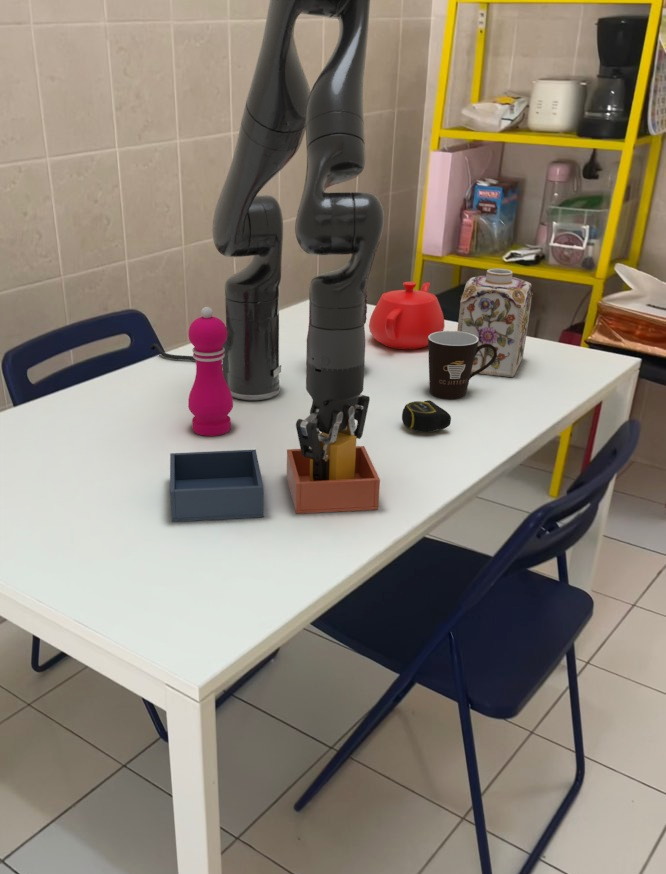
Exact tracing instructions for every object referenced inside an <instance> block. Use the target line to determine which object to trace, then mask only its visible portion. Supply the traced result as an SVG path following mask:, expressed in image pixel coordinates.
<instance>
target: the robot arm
mask: <svg viewBox="0 0 666 874" xmlns="http://www.w3.org/2000/svg"><path fill="white" fill-rule="evenodd" d="M267 7H268V8H267V14H266V19H265V24H264V29H263V35H262V41H261V45H260V49H259V53H258V57H257V60H256V64H255V68H254V72H253V76H252V79H251V82H250V86H249V90H248V93H247V96H246V100H245V103H244V107H243V108H244V109H243V112H242V116H241V120H240V125H239V130H238V136H237V140H236V145H235V147H234V152H233V156H232V159H231V162H230V166H229V169H228V172H227V175H226V176H225V177H226V178H225V180H224V183H223V186H222V188H221V191H220V194H219V195H218V200H217V202H216V205H215V209H214V213H213V218H212V230H211V231H212V232H211V233H212V239H213V244H214V246H215V248H216V250H217V252H218V253H219V254H221V255H222V256H223V257H228V258H242V257H252V259H251V260H250V262H249V263H248V264H247V265H246V266H245V267H243V268H242V269H241V270H239V271H237V272H236V273H234V274H232V275H230V276H229V277H228V278H227V279H226V280H225V283H224V302H225V303H224V304H225V305H224V306H225V326H226V329H227V339H226V341H225V343H224V344H223V346H222V347H224V349H225V350H224V354H225V357H224V358H223V359H222V370H223V375H224V378H225V381H226V383H227V385H228V387H229V389H230V392H231V395H232V398H234V399H238V400H242V401H243V400H244V401H262V400H269V399H271V398H274V397H276V396H277V395H279V394H280V389H281V388H280V386H281V385H280V373H282V364H280V286H281V282H282V281H281V280H282V264H283V263H282V261H283V244H284V243H283V242H284V218H283V212H282V208H281V205H280V203H279V202H278V199H276V198H275V197H274V196H272V195H268V194H261V195H258V194H259V192H260V191H261V190H262V189H263V188H264V187H265V186H266V185H267V184H268V183H269V182H270V181H271V180H272V179H273V178H274V177H276V176H277V175H278V174H279V173H280V172H281V171H282V170H283V169H284V168H285V167H286V166H287V165H288V164H289V162H291V161H292V160H293V158H294V157H295V155H296V154H297V152H298V151H299V149H300V147H301V145H302V142H303V140H304V136H305V142H306V143H305V144H306V173H305V179H304V185H303V190H302V194H301V198H300V202H299V206H298V210H297V214H296V217H295V225H294V231H295V232H294V233H295V238H296V241H297V243H298V245H299V247H300V248H301V249H302V251H304V252H305V253H306V254H308V255H311V256H336V255H337V256H338V255H350V257H349V259H348V260H347V262H346V263H345V264H344V265H342V266H341V267H340V268H336V269H333V270H330V271H326V272H322V273H319V274H317V275H316V276H314V277H312V279H311V281H310V284H309V290H308V291H309V293H308V294H309V295H308V296H309V297H308V298H309V299H308V300H309V304H308V305H309V306H308V329H307V336H306V358H305V359H306V367H305V369H306V371H305V373H306V374H305V376H306V377H305V390H306V392H307V393H308V394H309V396H310V397H311V400H312V403H311V407H310V409H309V415H308V416H307V417H306V418H304V419H302V418H298V419H297V420H296V422H295V429H296V432H297V438H298V442H299V443H298V444H299V449H301V453H302V456H303V457H306V458H310V459H313V480H314V481H327V480H329V462H330V460H329V456H330V448H331V445H332V444H335V442H336V438H337V434H338V432H340V433H343V434H346V435H354V436H356V439H358V440H359V439H361V438H362V437H363V433H364V430H365V429H364V428H365V425H366V419H367V414H368V409H369V405H370V401H371V398H370V396H369V395H365V394H362V393H363V392H364V382H365V381H364V380H365V363H366V362H365V360H366V332H365V331H366V329H365V324H364V321H365V300H367V298H366V291H367V288H368V283H369V277H370V274H371V270H372V266H373V264H374V260H375V257H376V254H377V252H378V249H379V246H380V242H381V240H382V236H383V234H384V233H383V232H384V229H385V217H386V216H385V210H384V206H383V204H382V202H381V200H380V199H379V198H378V196H377V195H375V193H372V192H370V191H369V192H368V191H351V192H350V191H349V192H348V191H343V192H326V190H327V189H329V188H330V187H333V186H336V185H340V184H342V183H345V182H348V181H352V180H354V179H356V178H357V177H359V176H360V175H361V174H362V173H363V171H364V169H365V165H366V139H365V119H364V81H365V67H366V57H367V46H368V36H369V35H368V33H369V25H370V24H369V21H370V10H371V9H370V8H371V0H269V2H268V6H267ZM300 15H307V16H308V15H309V16H316V17H321V18H329V19H336V20H338V24H339V25H338V26H339V27H338V28H339V31H338V38H337V42H336V44H335V47H334V48H333V51H332V53H331V55H330V57H329V58H328V60H327V62H326V63H325V66H324V67H323V69H322V70H321V72H320V73H319V75H318V77H317V78H316V80H315V82H314V83H313V86H312V88H310V85H309V81H308V78H307V75H306V73H305V70H304V68H303V65H302V62H301V59H300V56H299V52H298V49H297V45H296V41H295V27H296V21H297V19H298V17H299V16H300ZM149 349H150V350H153V351H154V350H156V351H157V352H158V353H159V355H161V356H162V357H164V358H167V359H171V360H181V361H194V362H196V359H194V358H193V355H181V354H172V353H171V354H170V353H167V352H165V351H164V350H163V349H162V348H161V347H160V345H159V344H158V343H153V344H151V346H150V347H149ZM356 421H357V422H356ZM356 423H357V424H356ZM322 432H323V433H326V434H329V436H328V437H327V436H323V435H321V434H320V433H322ZM319 442H323V443H324V447H323V451H322V450H321V448H320V443H319ZM310 447H311V449H309V448H310Z"/></svg>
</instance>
